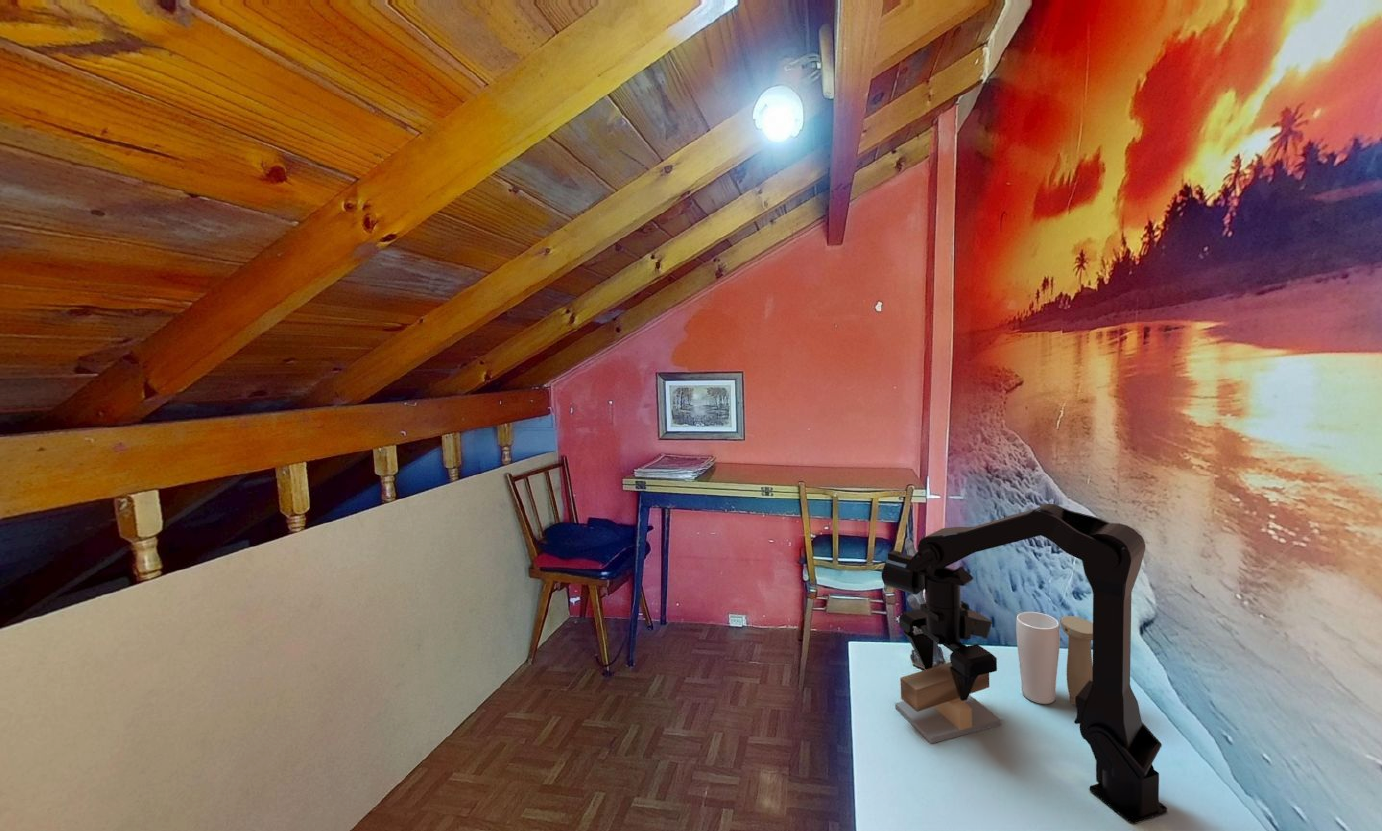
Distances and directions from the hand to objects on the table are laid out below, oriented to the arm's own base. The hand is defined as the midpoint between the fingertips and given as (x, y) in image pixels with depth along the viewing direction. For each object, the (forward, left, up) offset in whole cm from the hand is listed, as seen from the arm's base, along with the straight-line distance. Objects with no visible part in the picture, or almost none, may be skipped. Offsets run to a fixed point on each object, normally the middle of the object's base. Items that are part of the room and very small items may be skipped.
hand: (945, 685), depth 100 cm
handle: (-5, -24, -6) cm, 25 cm away
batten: (0, 0, -2) cm, 2 cm away
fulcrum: (0, 0, -6) cm, 6 cm away
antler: (+18, -8, -6) cm, 21 cm away
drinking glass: (-1, -19, -6) cm, 20 cm away
